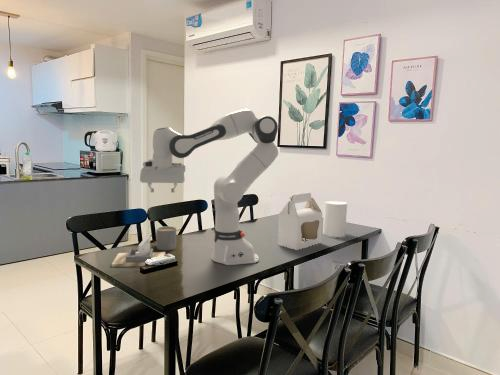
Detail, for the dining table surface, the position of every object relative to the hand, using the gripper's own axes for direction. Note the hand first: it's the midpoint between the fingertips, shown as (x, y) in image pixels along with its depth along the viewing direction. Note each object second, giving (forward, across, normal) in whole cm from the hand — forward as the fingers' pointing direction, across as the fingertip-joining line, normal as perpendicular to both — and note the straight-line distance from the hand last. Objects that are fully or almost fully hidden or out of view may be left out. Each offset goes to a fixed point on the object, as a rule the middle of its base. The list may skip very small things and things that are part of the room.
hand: (162, 192), depth 176 cm
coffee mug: (+31, 0, -16) cm, 35 cm away
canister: (+31, -100, -35) cm, 111 cm away
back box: (+30, +10, +5) cm, 32 cm away
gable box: (+31, -73, -16) cm, 81 cm away
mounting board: (+31, +10, +5) cm, 33 cm away
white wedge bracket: (+30, +9, +5) cm, 32 cm away
